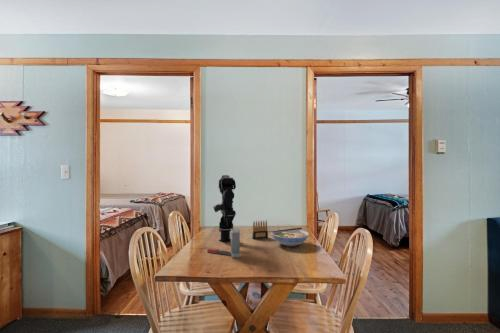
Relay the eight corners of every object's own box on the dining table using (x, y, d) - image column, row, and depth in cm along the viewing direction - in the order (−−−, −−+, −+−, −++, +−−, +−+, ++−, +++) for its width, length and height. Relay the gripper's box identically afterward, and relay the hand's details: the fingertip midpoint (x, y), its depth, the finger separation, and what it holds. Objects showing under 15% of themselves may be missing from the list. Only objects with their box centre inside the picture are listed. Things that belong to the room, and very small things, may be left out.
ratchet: (209, 251, 151) (209, 242, 151) (243, 254, 145) (243, 245, 145) (203, 254, 145) (203, 245, 145) (238, 258, 138) (238, 248, 138)
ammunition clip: (253, 239, 178) (253, 221, 178) (252, 238, 179) (252, 220, 180) (268, 238, 181) (268, 220, 181) (267, 237, 183) (267, 219, 183)
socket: (230, 251, 144) (230, 228, 144) (238, 250, 145) (238, 228, 145) (232, 253, 140) (232, 230, 140) (239, 253, 141) (239, 230, 141)
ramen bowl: (280, 252, 149) (280, 237, 149) (263, 242, 170) (263, 229, 170) (318, 247, 158) (318, 233, 158) (297, 238, 179) (297, 226, 179)
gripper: (212, 197, 165) (212, 223, 165) (215, 200, 147) (215, 229, 147) (230, 197, 168) (230, 222, 168) (235, 200, 150) (235, 228, 150)
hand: (227, 225), depth 158 cm, fingers open, 9 cm apart
